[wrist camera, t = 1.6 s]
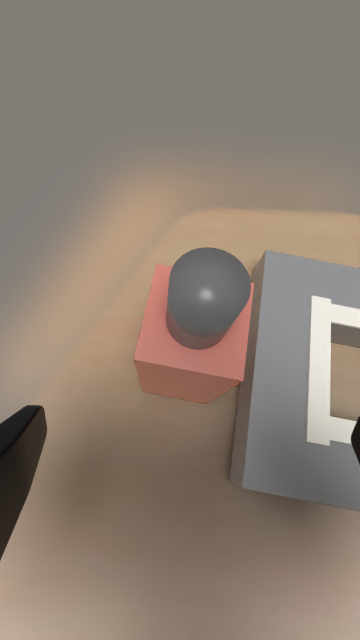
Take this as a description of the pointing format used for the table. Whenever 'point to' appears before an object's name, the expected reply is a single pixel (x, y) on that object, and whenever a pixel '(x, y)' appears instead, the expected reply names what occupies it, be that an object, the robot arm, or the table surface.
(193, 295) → the plug
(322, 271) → the socket plate
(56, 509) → the table surface
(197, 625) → the table surface
